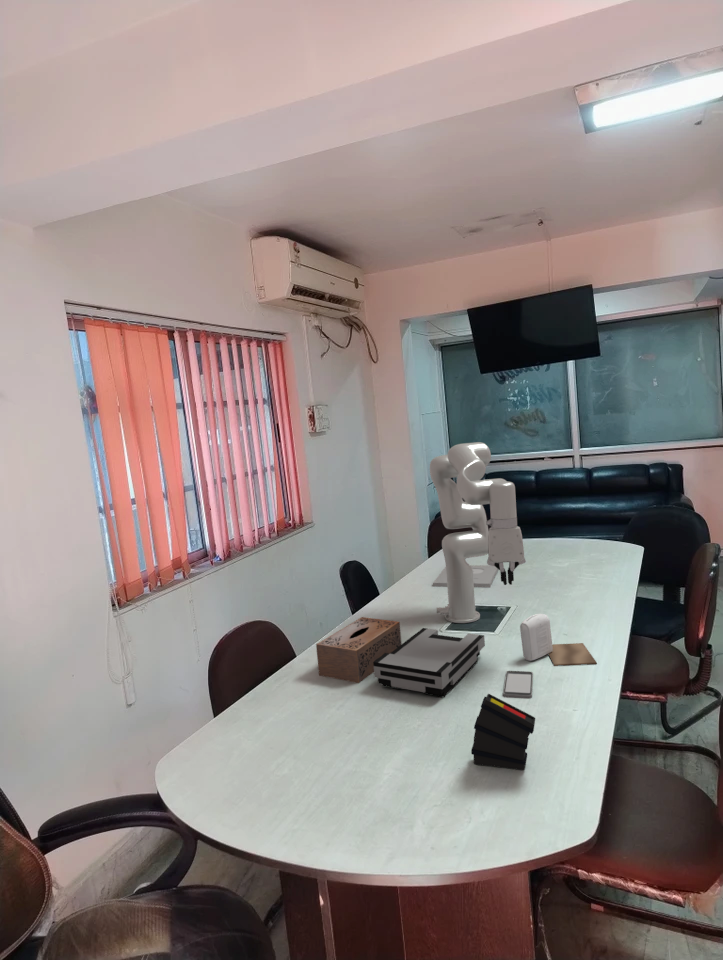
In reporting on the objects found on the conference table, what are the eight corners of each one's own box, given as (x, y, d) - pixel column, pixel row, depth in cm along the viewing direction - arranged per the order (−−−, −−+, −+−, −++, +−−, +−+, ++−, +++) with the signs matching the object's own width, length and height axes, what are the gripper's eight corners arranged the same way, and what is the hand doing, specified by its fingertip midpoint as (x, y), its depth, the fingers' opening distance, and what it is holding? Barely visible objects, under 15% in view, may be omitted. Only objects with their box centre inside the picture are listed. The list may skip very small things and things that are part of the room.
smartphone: (533, 671, 176) (531, 695, 162) (533, 675, 176) (532, 699, 162) (506, 670, 178) (502, 694, 164) (506, 674, 178) (503, 698, 164)
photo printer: (544, 648, 192) (539, 609, 191) (555, 651, 189) (550, 612, 188) (521, 659, 187) (516, 619, 186) (532, 662, 183) (527, 622, 182)
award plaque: (433, 587, 270) (432, 582, 270) (447, 569, 298) (446, 565, 298) (490, 588, 262) (489, 583, 262) (498, 569, 290) (498, 565, 290)
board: (554, 665, 180) (554, 664, 180) (543, 646, 195) (543, 644, 195) (596, 664, 179) (596, 662, 179) (582, 644, 194) (582, 643, 194)
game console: (485, 657, 191) (484, 631, 190) (443, 702, 164) (441, 672, 163) (424, 648, 202) (422, 624, 201) (375, 689, 175) (373, 661, 174)
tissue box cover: (364, 645, 209) (361, 616, 208) (402, 651, 201) (399, 621, 200) (319, 676, 187) (316, 644, 186) (359, 684, 179) (356, 650, 178)
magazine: (461, 747, 138) (486, 691, 134) (517, 778, 135) (545, 721, 131) (457, 756, 135) (484, 699, 131) (515, 788, 131) (544, 730, 127)
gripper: (479, 527, 181) (483, 588, 183) (532, 524, 180) (535, 585, 182) (476, 522, 189) (480, 581, 191) (528, 519, 187) (531, 578, 189)
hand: (507, 583), depth 186 cm, fingers closed
